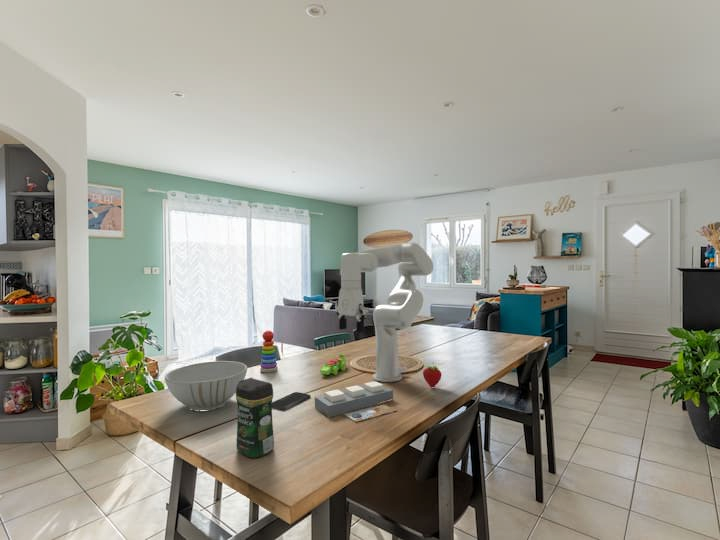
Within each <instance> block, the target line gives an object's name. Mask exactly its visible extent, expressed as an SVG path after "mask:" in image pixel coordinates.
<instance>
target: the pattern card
mask: <svg viewBox="0 0 720 540" xmlns="http://www.w3.org/2000/svg"><path fill="white" fill-rule="evenodd" d="M373 407H374V406H369V407H366V408H362V409H358V410H354V411H350V412H347V413H344V416H345V415H346V416H345V417H347V416H348V417H349V418H348V417H347V418H348V419H350V418H351V419H352V420H351V419H350V420H351V421H353V420H356V419H358V418H361V417H362V419H365V418H368V417H370V416H372V417H373V414H375V413H376V411H374V410H373ZM374 409H375V408H374ZM367 415H368V416H367Z"/></svg>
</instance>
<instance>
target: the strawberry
mask: <svg viewBox="0 0 720 540" xmlns="http://www.w3.org/2000/svg"><path fill="white" fill-rule="evenodd" d="M432 364H433V365H432V366H431V365H428V366H427V367H425V368H424V369H423V371H422V375H423V379H424V381H426V384H428V385H429V388H431V387H434V388H435V386H437V384H438V383H439V382H440V381H441V378H442V376H443V375H442V372H441V371H440V368H439V367H437V366H438V365H434V362H432Z"/></svg>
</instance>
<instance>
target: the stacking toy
mask: <svg viewBox="0 0 720 540" xmlns="http://www.w3.org/2000/svg"><path fill="white" fill-rule="evenodd" d="M274 337H275V335H274V332H273V331H271V330H265V331H264V332H263V333H262V339H263V342H262V345H263V346H262V347H261V348H262V351H261V353H262V354H261V361H260V362H261V363H260V364H259V365H260V368H259V371H260V372H261V373H265V374H268V373H274V372H277V370H278V369H279V368H278V363H277V357H276V356H277V353H276V349H275V345H274V344H275V341H274V340H273V339H274Z"/></svg>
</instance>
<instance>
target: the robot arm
mask: <svg viewBox="0 0 720 540" xmlns="http://www.w3.org/2000/svg"><path fill="white" fill-rule="evenodd" d="M340 256H341V258H340V266H341V267H340V270H341V272H340V277H341V278H340V286H341V287H340V289H339V293H338V301H337V302H338V303H337V306H335V311H336V315H337V318H338V319H339V320H338V321H339V323H338V325H339V330H346V329H347V318H346V317H355V318H356V320H357V321H356V333H363V332H365V321H366V319H367V317H368V313H369V309H368V308H366V307H365V306H364V295H363V289H362V273H372V272H374V271H376V270H377V269H378V268H387V267H390V266H393V265H396V264H398V267H397V270H398V282H397V284H396V285H395V287H393V289H392V291H391V292H390V293H389V295H388V297H387V304H386V303H384V304H378V305H377V306H376V307H375V308H374V309H373V312H372V319H373V324H374V331H375V372H374V373H373V374H372V379H373V380H374V381H376V382H379V381H380V382H381V383H395V382H398V381H401V380H402V379H403V375H402V374H401V373H403V372H407V371H408V368H407V366H400V365H399V337H398V333H397V331H396V329H403V330H404V329H408V328H410V327H411V325H412V324H413V322H414V321H415V320H416V319H417V317H418V315H419V313H420V311H421V310H422V308H423V305H424V296H423V293H422V292H421V291H420V290H418V289H416V288H417V287H416V283H415V280H414V279H413V276H417V277H418V276H422V277H423V276H424V277H425V276H429V275H431V274H432V273H433V270H434V261H433V260H432V258H431V257H430V255H428V253H427V252H426V250H425V249H424V248H423V247H422V246H421V245H420V244H419V243H417V242H402V243H396V244H395V243H394V244H391V245H387V246H382V247H378V248H377V247H376V248H372V249H367V250H362V251H356V252H345V253H342V255H340ZM380 382H379V383H380Z"/></svg>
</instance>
